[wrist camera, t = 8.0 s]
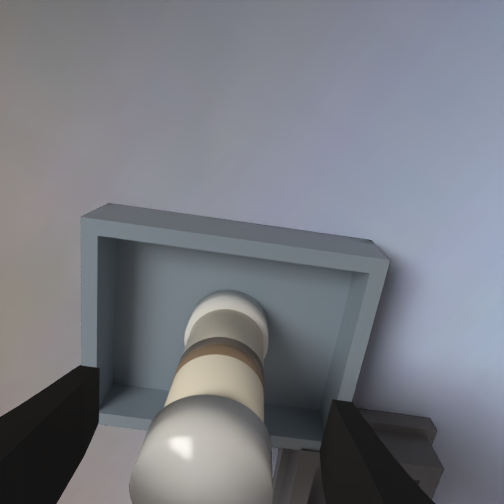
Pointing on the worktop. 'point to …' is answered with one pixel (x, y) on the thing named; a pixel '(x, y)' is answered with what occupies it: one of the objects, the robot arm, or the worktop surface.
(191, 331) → the banded white capsule
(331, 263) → the parts tray
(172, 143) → the worktop surface
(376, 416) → the dark grey square holder
